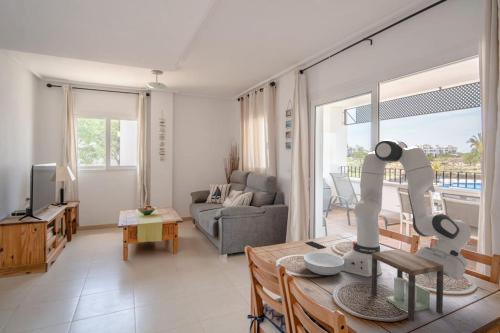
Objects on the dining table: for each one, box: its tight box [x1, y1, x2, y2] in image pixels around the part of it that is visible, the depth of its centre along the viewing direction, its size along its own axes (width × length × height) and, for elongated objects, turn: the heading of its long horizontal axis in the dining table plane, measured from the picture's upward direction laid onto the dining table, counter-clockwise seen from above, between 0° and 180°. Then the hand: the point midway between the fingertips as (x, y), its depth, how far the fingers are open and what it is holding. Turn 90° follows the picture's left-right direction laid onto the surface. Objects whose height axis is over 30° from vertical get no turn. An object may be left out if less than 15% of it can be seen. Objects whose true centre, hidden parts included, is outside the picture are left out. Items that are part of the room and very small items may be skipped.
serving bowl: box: [303, 252, 344, 276], centre depth 145 cm, size 21×21×7 cm
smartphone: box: [304, 240, 327, 250], centre depth 189 cm, size 7×1×15 cm
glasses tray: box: [386, 276, 431, 312], centre depth 113 cm, size 12×10×10 cm
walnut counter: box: [370, 248, 444, 322], centre depth 113 cm, size 16×20×19 cm
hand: (427, 277), depth 117 cm, fingers closed
